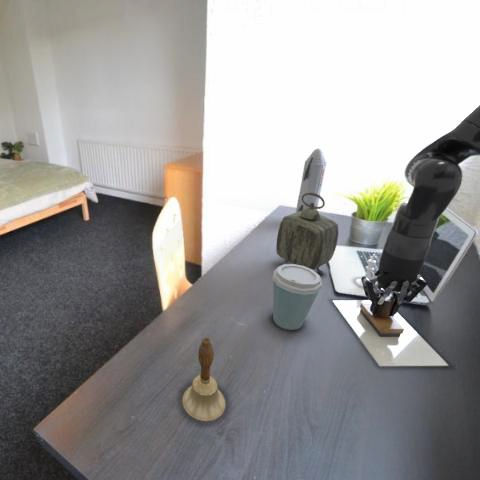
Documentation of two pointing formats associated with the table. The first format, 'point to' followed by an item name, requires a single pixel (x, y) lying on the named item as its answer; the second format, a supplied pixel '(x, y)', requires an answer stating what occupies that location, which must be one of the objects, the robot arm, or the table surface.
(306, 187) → the rocket model
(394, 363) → the tile
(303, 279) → the disposable coffee cup
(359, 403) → the table surface
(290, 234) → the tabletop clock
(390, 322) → the stamp
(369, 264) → the chess piece
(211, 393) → the hand bell
